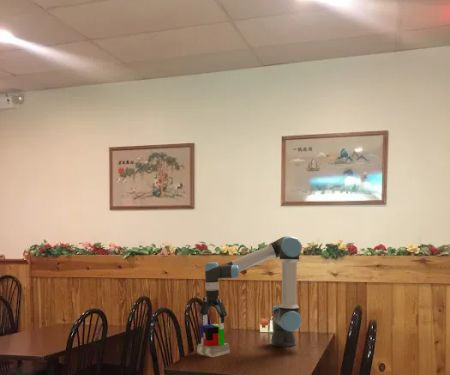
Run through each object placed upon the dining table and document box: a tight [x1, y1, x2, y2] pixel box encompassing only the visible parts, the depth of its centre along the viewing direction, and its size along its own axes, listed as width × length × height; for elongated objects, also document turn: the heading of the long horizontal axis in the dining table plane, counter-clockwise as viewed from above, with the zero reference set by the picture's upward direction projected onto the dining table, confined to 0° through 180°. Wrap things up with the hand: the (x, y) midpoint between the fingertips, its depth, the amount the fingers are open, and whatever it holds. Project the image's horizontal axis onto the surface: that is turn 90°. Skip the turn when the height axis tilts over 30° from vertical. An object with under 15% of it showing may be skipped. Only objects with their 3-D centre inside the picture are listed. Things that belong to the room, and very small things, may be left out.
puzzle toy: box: [200, 323, 225, 347], centre depth 266 cm, size 10×10×10 cm
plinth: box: [196, 342, 231, 358], centre depth 266 cm, size 13×13×5 cm
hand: (213, 327), depth 267 cm, fingers open, 13 cm apart
